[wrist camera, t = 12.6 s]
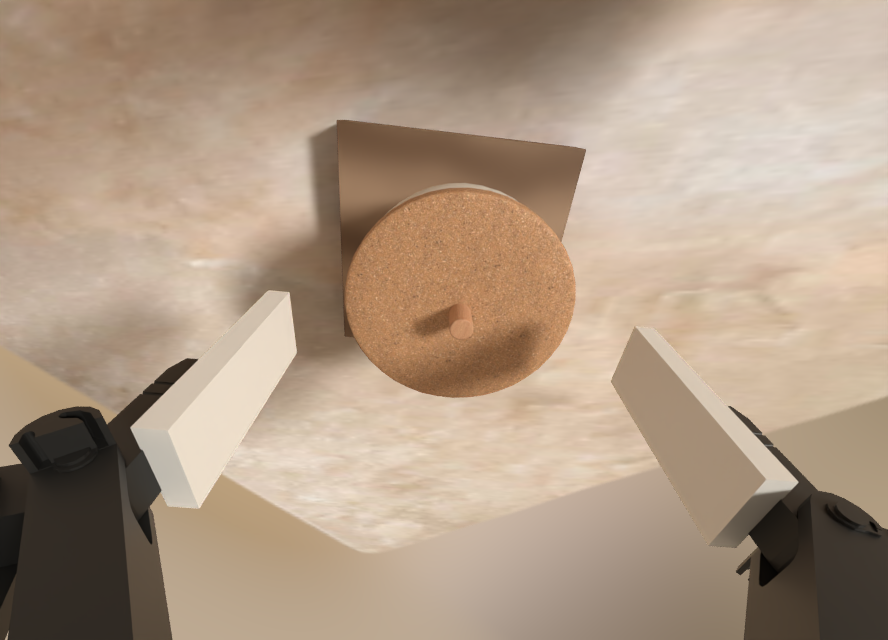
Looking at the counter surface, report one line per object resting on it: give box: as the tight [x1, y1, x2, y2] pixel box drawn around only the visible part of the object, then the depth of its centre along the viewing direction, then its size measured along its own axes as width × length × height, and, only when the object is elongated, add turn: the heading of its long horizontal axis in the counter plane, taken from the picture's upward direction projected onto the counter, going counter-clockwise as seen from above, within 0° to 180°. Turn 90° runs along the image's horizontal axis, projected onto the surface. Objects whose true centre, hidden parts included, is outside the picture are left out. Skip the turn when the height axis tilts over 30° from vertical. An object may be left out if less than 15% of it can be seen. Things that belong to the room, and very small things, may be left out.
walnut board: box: [337, 120, 586, 337], centre depth 24 cm, size 14×14×2 cm
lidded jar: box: [345, 183, 575, 398], centre depth 19 cm, size 11×11×9 cm
